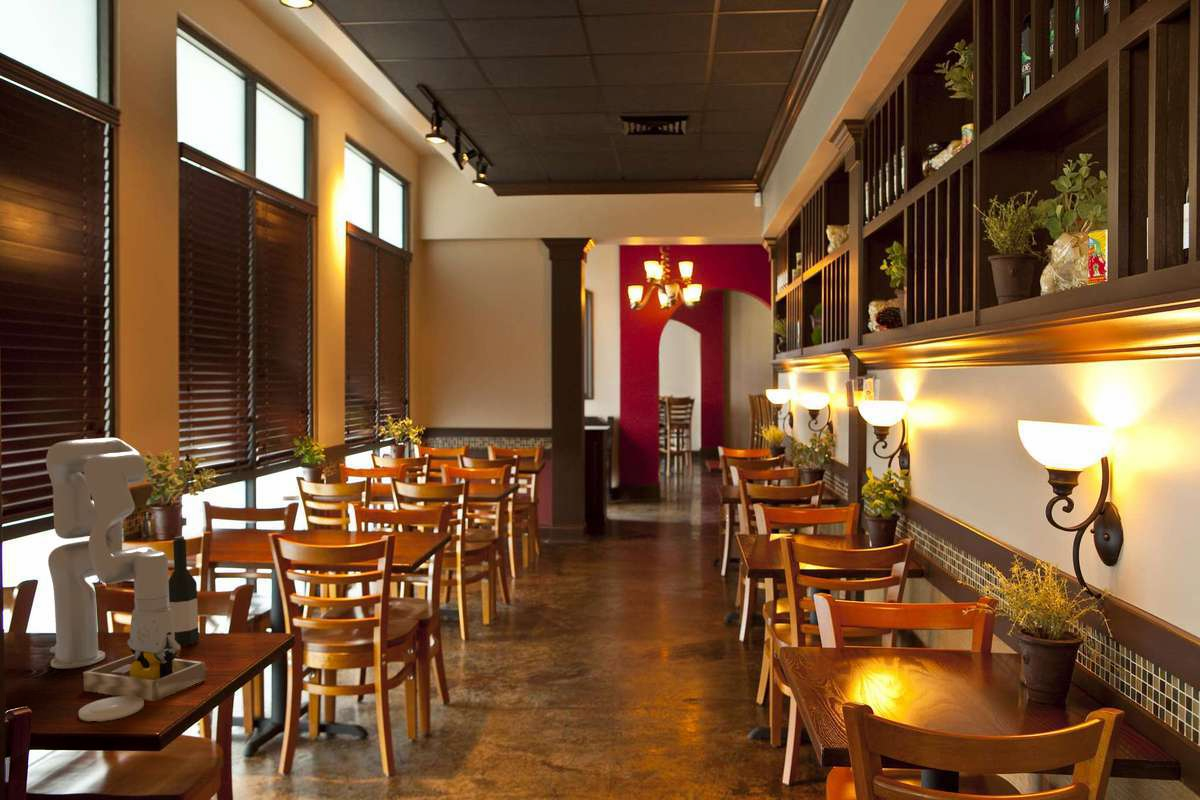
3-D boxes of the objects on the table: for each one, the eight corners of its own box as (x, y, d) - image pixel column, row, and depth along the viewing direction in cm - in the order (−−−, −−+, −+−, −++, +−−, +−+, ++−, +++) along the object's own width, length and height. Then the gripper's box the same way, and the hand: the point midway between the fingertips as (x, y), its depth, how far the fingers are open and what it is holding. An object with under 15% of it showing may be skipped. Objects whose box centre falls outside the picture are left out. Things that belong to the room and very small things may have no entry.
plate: (65, 717, 204) (64, 712, 204) (115, 697, 216) (115, 692, 216) (107, 724, 199) (107, 719, 199) (156, 703, 211) (156, 698, 211)
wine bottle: (174, 639, 263) (169, 535, 262) (204, 637, 264) (199, 533, 263) (162, 647, 255) (158, 540, 254) (193, 646, 256) (189, 539, 254)
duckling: (180, 676, 228) (179, 637, 228) (183, 683, 224) (182, 642, 223) (129, 685, 222) (127, 645, 222) (131, 692, 218) (129, 650, 217)
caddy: (84, 690, 221) (83, 672, 221) (136, 671, 235) (135, 653, 235) (155, 701, 213) (154, 682, 212) (205, 680, 227) (204, 662, 226)
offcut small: (110, 680, 224) (110, 672, 224) (128, 672, 230) (127, 664, 229) (124, 680, 223) (124, 672, 223) (142, 672, 229) (141, 664, 229)
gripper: (112, 604, 222) (115, 677, 222) (166, 610, 215) (169, 685, 216) (138, 596, 229) (141, 667, 229) (191, 602, 222) (194, 675, 223)
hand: (154, 675), depth 223 cm, fingers closed on duckling, 6 cm apart
